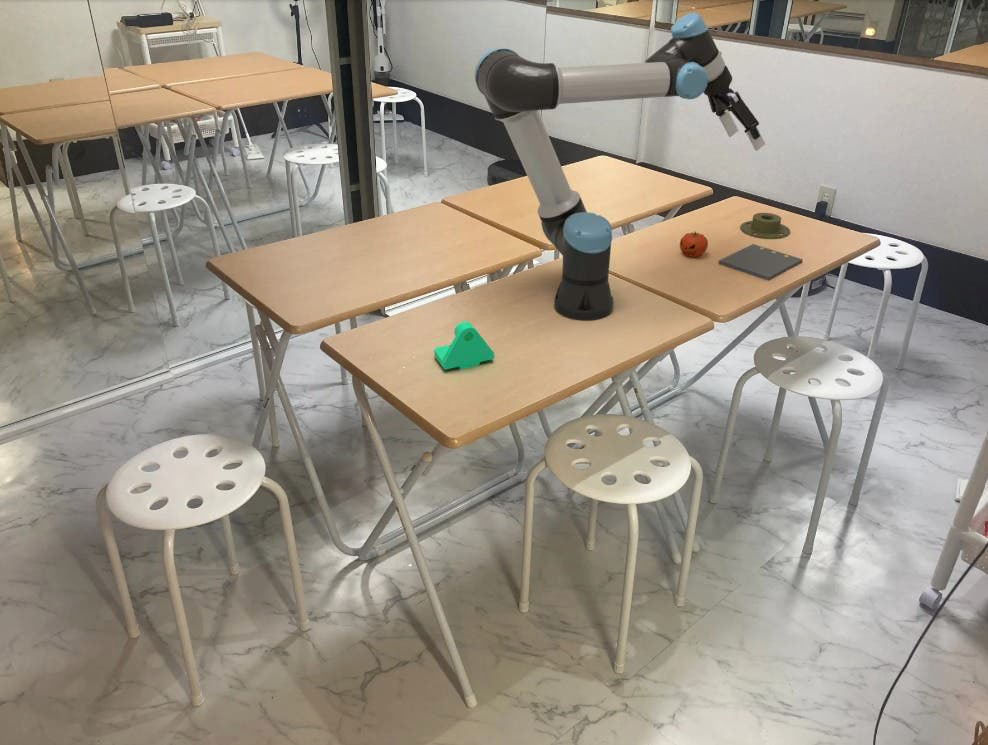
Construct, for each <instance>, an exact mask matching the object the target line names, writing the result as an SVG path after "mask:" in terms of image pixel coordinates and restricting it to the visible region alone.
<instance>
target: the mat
mask: <svg viewBox="0 0 988 745" xmlns="http://www.w3.org/2000/svg"><path fill="white" fill-rule="evenodd" d="M803 260H804V259H803V258H799V257H796V256H793V255H791V254H790V255H789V254H787V253H784V252H781V251H777V250H773V249H771V248H768V247H764V246H762V245H757V244H754V243H752V244H750V245H749V246H748V245H747V246H745V247H744V248H742V249H741V250H738V251H736V252H734V253H732V254H729V255H728V256H726V257H723V258H721V259H719V260H718V264H719V265H722V266H725V267H728V268H730V269H733V270H736V271H739V272H742V273H745V274H748V275H751V276H754V277H756V278H759V279H763V280H766V281H771V280H772V279H774V278H776V277H778V276H781V274H783V273H786V272H787V271H789V270H791V269H793V268H795V267H797V266H798V265H800V264H802V263H803Z"/></svg>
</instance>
